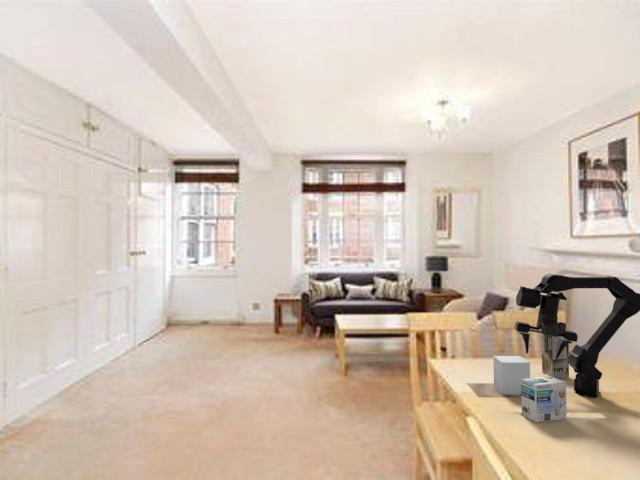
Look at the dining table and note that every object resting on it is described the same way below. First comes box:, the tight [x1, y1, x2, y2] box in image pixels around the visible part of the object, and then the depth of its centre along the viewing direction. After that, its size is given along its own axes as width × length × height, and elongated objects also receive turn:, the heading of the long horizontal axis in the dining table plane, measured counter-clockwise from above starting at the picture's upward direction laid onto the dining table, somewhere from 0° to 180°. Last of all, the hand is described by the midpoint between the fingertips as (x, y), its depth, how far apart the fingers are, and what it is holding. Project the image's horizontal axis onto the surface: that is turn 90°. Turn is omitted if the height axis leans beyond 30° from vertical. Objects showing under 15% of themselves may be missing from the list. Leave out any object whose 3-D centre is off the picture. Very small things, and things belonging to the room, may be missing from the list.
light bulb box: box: [521, 375, 567, 424], centre depth 135 cm, size 11×7×11 cm, turn 105°
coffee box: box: [540, 333, 570, 380], centre depth 178 cm, size 9×6×16 cm
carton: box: [492, 355, 531, 395], centre depth 156 cm, size 9×9×10 cm
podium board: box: [466, 382, 522, 399], centre depth 156 cm, size 20×15×1 cm
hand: (541, 356), depth 157 cm, fingers open, 9 cm apart
